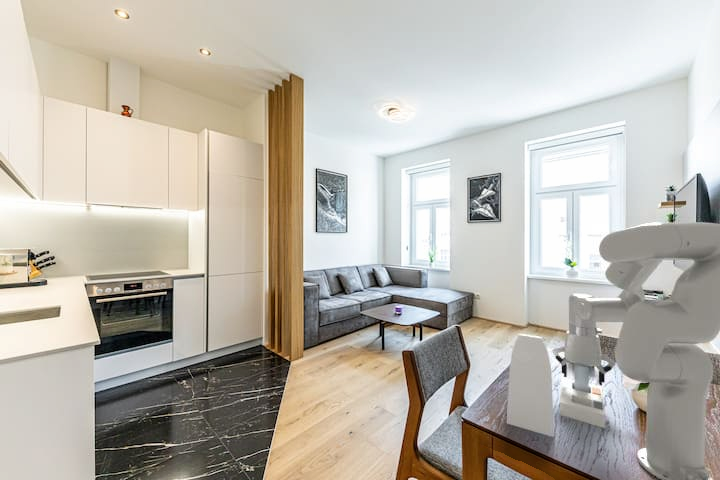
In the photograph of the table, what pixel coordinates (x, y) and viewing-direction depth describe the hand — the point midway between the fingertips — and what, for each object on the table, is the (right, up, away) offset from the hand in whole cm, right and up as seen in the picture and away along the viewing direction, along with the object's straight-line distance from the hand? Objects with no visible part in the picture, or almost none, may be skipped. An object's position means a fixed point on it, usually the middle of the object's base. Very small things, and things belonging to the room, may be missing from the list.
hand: (582, 379), depth 100 cm
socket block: (-3, -7, -3) cm, 8 cm away
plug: (0, -7, +1) cm, 7 cm away
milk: (-24, -7, -10) cm, 28 cm away
